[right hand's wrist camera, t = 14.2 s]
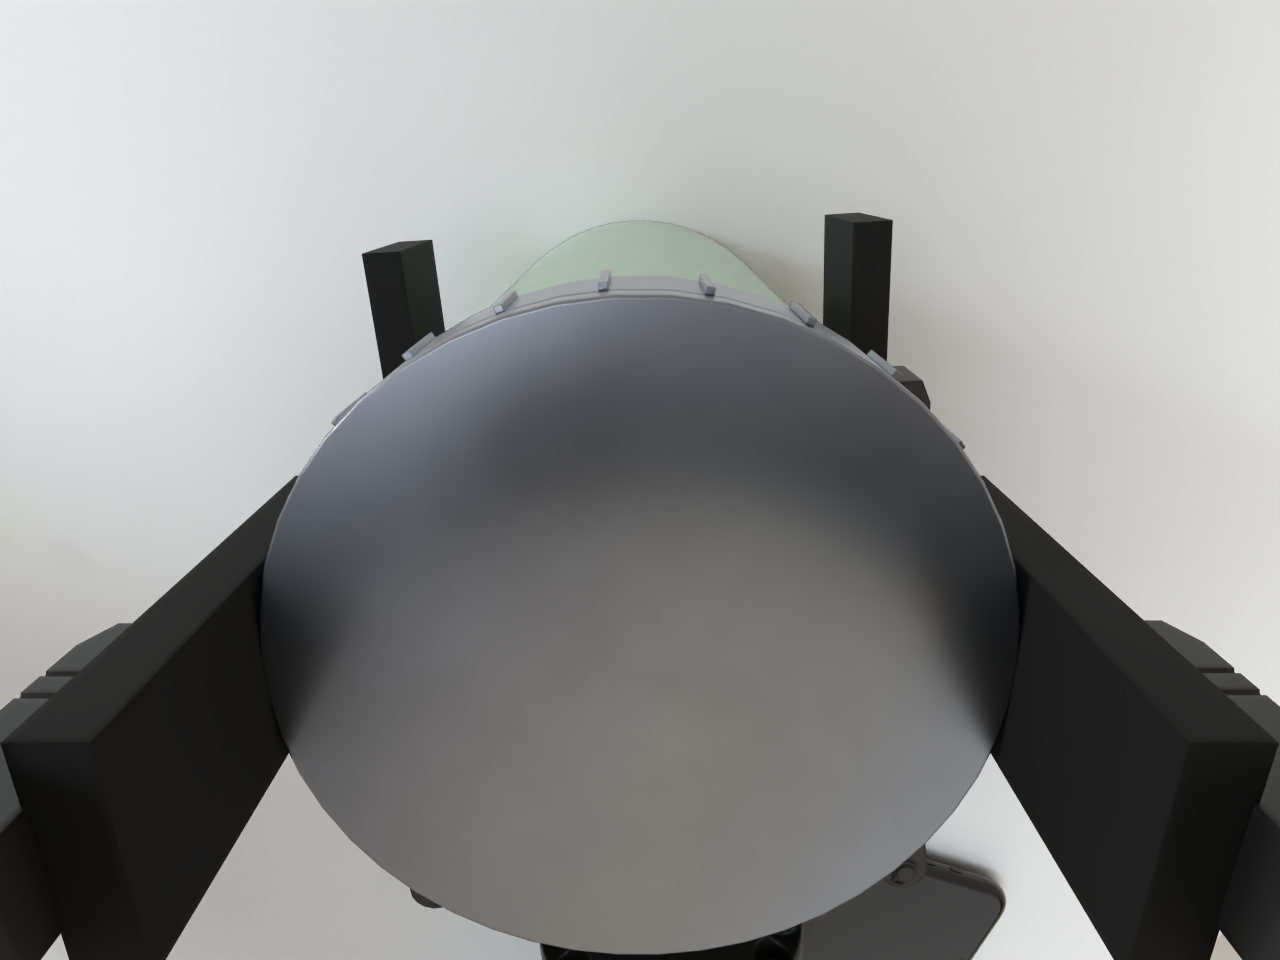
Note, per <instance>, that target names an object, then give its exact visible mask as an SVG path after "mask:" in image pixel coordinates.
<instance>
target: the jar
mask: <svg viewBox="0 0 1280 960" xmlns="http://www.w3.org/2000/svg"><path fill="white" fill-rule="evenodd" d="M603 270H611V277H613V276H669V277H676V278H683V279H690V280H697V281H699V276H700V274H706V275H709V277H710V279H711V280H712V282H713V283H718V284H721V285H725V286H728V287H732V288H735V289H739V290H742V291H746V292H749V293H753V294H757V295H760V296H764V297H766V298H768V299H771V300H773V301H775V302H778V303H780V304H782V305H784V306H787V307H789V306H788V305H787V304H786V303H785V302H784V301H783V300H782V299H781V298H780V297H779V296H778V295H777V294H776V293H775V292H774V291H773V290H772V289H770V288H769V287H768V286H767V285H766V284H765V283H764V282H763V281H762V280H761V279H760V278H759V277H758V276H757V275H756V274H755V273H754V272H753V271H752V270H751V269H749V268H748V267H747V266H746V265H745V264H744V263H743V262H742V261H741V260H740V259H739V258H737V257H736V256H735V255H734V254H733V253H731V252H730V251H729V250H728V249H727V248H725V247H723V246H722V245H720V244H719V243H717V242H715V241H714V240H712V239H710V238H709V237H707V236H704V235H702V234H700V233H697V232H695V231H693V230H691V229H687V228H684V227H680V226H677V225H673V224H669V223H662V222H655V221H626V222H618V223H611V224H607V225H603V226H600V227H596V228H592V229H590V230H587V231H585V232H583V233H580V234H578V235H575V236H573V237H571V238H570V239H568V240H566V241H565V242H563V243H561V244H560V245H558V246H556V247H555V248H554V249H552V250H551V251H550V252H549V253H547V254H546V255H545V256H544V257H542V258H541V259H540V260H539V261H538V262H537V263H536V264H535V265H534V266H533V267H532V268H530V269H529V270H528V271H527V272H526V273H525V274H524V275H523V276H522V277H521V278H520V279H519V280H518V281H517V282H516V283H515V284H514V285H513V286H512V287H510V288H509V289H508V290H507V291H506V292H505V293H504V294H503V295H502V296H501V297H500V298H499V299H498V300H497V301H496V302H495V303H494V304H493V305H491V306H490V307H493V306H494V305H495V304H496V303H497V302H498V301H499V300H501V299H502V298H503V297H504V296H505V295H506V294H507V293H508V292H510V291H513V290H516V292H517V295H518V296H519V295H522V294H526V293H529V292H533V291H537V290H541V289H544V288H548V287H552V286H555V285H559V284H563V283H567V282H574V281H581V280H589V279H597V278H600V275H601V272H602V271H603ZM490 307H489V308H490Z"/></svg>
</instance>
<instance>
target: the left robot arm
mask: <svg viewBox="0 0 1280 960" xmlns="http://www.w3.org/2000/svg"><path fill="white" fill-rule="evenodd" d="M892 223H893V220H889V219H885V218H880V217H876V216H871V215H867V214H862V213H847V214H831V215H825V238H824V302H823V325H824V326H826V327H827V328H829V329H831V330H832V331H834V332H835V333H837V334H839V335H840V336H842V337H844V338H845V339H847V340H848V341H850V342H851V343H852V344H853V345H855V346H856V347H857V348H858V349H860V350H861V351H862V352H863V353H864V354H866V355H867V354H868V353H869V352H870V351H871V350H873V351H874V352H875V353H876V354H877V355H879V356H880V357H881V358H882V359H884V360H885V361H886V362H887V341H888V318H889V294H890V270H891V247H892ZM362 257H363V263H364V269H365V275H366V281H367V287H368V292H369V298H370V304H371V310H372V316H373V322H374V327H375V333H376V339H377V345H378V351H379V357H380V362H381V368H382V374H383V379H385V378H386V377H387V376H388V375H389V374H391V373H392V372H393V371H394V370H395V369H397V368H398V367H399V366H400V365H401V364H403V363H404V362H405V359H404V358H403V357H402V354H404V353H405V352H406V351H407V350H409V349H410V348H411V347H412V346H414V345H415V344H416V343H417V342H419V341H420V340H421V339H422V338H424V337H425V336H426V335H428V334H429V333H431V332H432V333H433V335H434V336H435V337H437V336H439V335H440V334H442V333H444V332H445V328H444V321H443V314H442V307H441V300H440V293H439V286H438V279H437V272H436V265H435V258H434V251H433V243H432V240H422V241H406V242H397V243H394V244H391V245H388V246H385V247H382V248H379V249H375V250H372V251H369V252H366V253H363V254H362ZM893 367H894V368H895V369H896V370H897V371H899V372H900V373H901V374H902V375H903V376H902V377H901V378H900V379H899V380H898V382H899V383H900V384H901V385H903V386H904V387H905V388H906V389H907V390H909V391H910V392H911V393H912V394H913V395H915V396H916V397H917V398H918V399H919V400H920V401H922V402H923V403H924V404H925V406H926V407H927V408H928V409H929V410H930V400H929V397H928V395H927V392H926V389H925V386H924V384H923V381H922V380H921V379H920V378H918V377H917V376H916V375H915V374H913V373H912V372H911V371H909V370H908V369H907V368H905V367H904V366H893ZM926 872H927V859H926V848H925V844H924V845H923V846H922V847H921V848H919V849H918V850H917V851H916V852H915V853H914V854H913V855H911V856H910V857H909V858H908V859H907V860H906V861H905V862H904V863H902V864H901V865H900V866H899V867H898V868H897V869H896V870H894V871H893V872H891V873H890V874H889V875H887V876H886V877H884V878H883V879H884V881H885V882H887V883H888V884H889V885H891V886H894V887H897V888H907V887H910V886H913V885H916V884H917V883H919V882H920V881H921V880H922V879H923V878H924V876H925V875H926ZM410 890H411V894H412V897H413V898H414V899H415V900H416V901H417V903H419V904H421V905H423V906H425V907H429V908H442V906H440V905H438V904H437V903H435V902H433V901H431V900H429V899H428V898H426V897H424V896H422V895H420V894H419V893H417V892H415V891H414V890H412V889H411V888H410ZM540 949H541V956H542V960H803V923H801V924H798V925H796V926H793V927H791V928H789V929H786V930H784V931H780V932H777V933H774V934H770V935H767V936H764V937H760V938H757V939H753V940H750V941H747V942H743V943H738V944H733V945H728V946H723V947H718V948H712V949H707V950H702V951H692V952H681V953H670V954H659V955H653V954H608V953H599V952H589V951H579V950H572V949H567V948H562V947H557V946H552V945H547V944H542V943H540Z"/></svg>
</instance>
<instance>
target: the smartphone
mask: <svg viewBox="0 0 1280 960" xmlns="http://www.w3.org/2000/svg"><path fill="white" fill-rule="evenodd" d="M926 859H927V858H926ZM1005 905H1006V898H1005V894H1004V892H1003V890H1002V888H1001V887H1000V886H999V885H998V884H997V883H996V882H995V881H993V880H991V879H990V878H987V877H985V876H982V875H979V874H976V873H973V872H969V871H966V870H963V869H959V868H956V867H953V866H950V865H946V864H943V863H940V862H937V861H933V860H930V859H927V872H926V875H925V876H924V878H923V879H922V880H921V881H920V882H919V883H917V884H916V885H913V886H910V887H907V888H897V887H894V886H891V885H889V884H888V883H887V882H885V881H884V879H881V880H880V881H878V882H877V883H876V884H874V885H873V886H871V887H870V888H868V889H867V890H865V891H864V892H863V893H861V894H860V895H858V896H856V897H854V898H852V899H850V900H848V901H847V902H845V903H843V904H841V905H839V906H837V907H836V908H834V909H832V910H830V911H828V912H826V913H824V914H823V915H820V916H818V917H815V918H813V919H810V920H808V921H806V922H803V960H972V958H973V957H974V955H975V954H976V952H977V951H978V949H979V948H980V946H981V945H982V944H983V942H984V941H985V939H986V938H987V936H988V935H989V933H990V932H991V930H992V929H993V927H994V926H995V924H996V923H997V922H998V920H999V919H1000V917H1001V915H1002V914H1003V912H1004V909H1005Z"/></svg>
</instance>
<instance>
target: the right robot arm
mask: <svg viewBox="0 0 1280 960" xmlns="http://www.w3.org/2000/svg"><path fill="white" fill-rule="evenodd" d="M980 477H981V478H982V480H983V481H984V483H985V486H986V488H987V490H988V492H989V494H990V497H991V499H992V501H993V503H994V505H995V507H996V510H997V512H998V514H999V516H1000V518H1001V521H1002V523H1003V526H1004V529H1005V533H1006V536H1007V540H1008V544H1009V547H1010V551H1011V554H1012V558H1013V561H1014V565H1015V569H1016V578H1017V586H1018V595H1019V603H1020V612H1021V615H1020V642H1019V654H1018V660H1017V666H1016V671H1015V677H1014V682H1013V688H1012V693H1011V698H1010V703H1009V707H1008V709H1007V712H1006V715H1005V718H1004V721H1003V724H1002V727H1001V730H1000V733H999V735H998V738H997V741H996V743H995V745H994V747H993V748H992V750H991V752H990V753H991V754H992V756H993V758H994V759H995V761H996V763H997V764H998V766H999V768H1000V769H1001V771H1002V773H1003V774H1004V776H1005V778H1006V779H1007V781H1008V783H1009V785H1010V786H1011V788H1012V790H1013V791H1014V793H1015V795H1016V796H1017V798H1018V800H1019V801H1020V803H1021V805H1022V806H1023V808H1024V810H1025V811H1026V813H1027V815H1028V816H1029V818H1030V820H1031V821H1032V823H1033V825H1034V826H1035V828H1036V830H1037V831H1038V833H1039V835H1040V837H1041V838H1042V840H1043V842H1044V843H1045V845H1046V847H1047V848H1048V850H1049V852H1050V853H1051V855H1052V857H1053V858H1054V860H1055V862H1056V863H1057V865H1058V867H1059V868H1060V870H1061V872H1062V873H1063V875H1064V877H1065V878H1066V880H1067V882H1068V883H1069V885H1070V887H1071V889H1072V890H1073V892H1074V894H1075V895H1076V897H1077V899H1078V900H1079V902H1080V904H1081V905H1082V907H1083V909H1084V910H1085V912H1086V914H1087V915H1088V917H1089V919H1090V920H1091V922H1092V924H1093V925H1094V927H1095V929H1096V930H1097V932H1098V934H1099V936H1100V937H1101V939H1102V941H1103V942H1104V944H1105V946H1106V947H1107V949H1108V951H1109V952H1110V954H1111V956H1112V957H1113V959H1114V960H1210V958H1211V955H1212V952H1213V949H1214V945H1215V942H1216V939H1217V936H1218V933H1219V930H1220V931H1221V932H1222V933H1223V935H1224V936H1225V937H1226V939H1227V940H1228V941H1229V943H1230V944H1231V945H1232V947H1233V948H1234V949H1235V951H1236V952H1237V953H1238V955H1239V956H1240V957H1241V958H1242V960H1280V707H1279V706H1278V705H1277V704H1276V703H1275V702H1273V701H1272V700H1271V699H1270V698H1269V697H1268V696H1266V695H1260V692H1259V691H1260V690H1259V689H1258V688H1257V687H1256V686H1255V685H1253V684H1252V683H1251V682H1250V681H1249V680H1248V679H1246V678H1245V677H1244V676H1243V675H1242V674H1240V673H1235V672H1234V668H1233V667H1232V666H1231V665H1230V664H1229V663H1227V662H1226V661H1225V660H1224V659H1223V658H1222V657H1220V656H1219V655H1218V654H1217V653H1216V652H1214V651H1213V650H1212V649H1211V648H1210V647H1209V646H1207V645H1206V644H1205V643H1204V642H1202V641H1200V640H1198V639H1196V638H1194V637H1192V636H1190V635H1188V634H1186V633H1185V632H1183V631H1181V630H1179V629H1177V628H1175V627H1173V626H1171V625H1169V624H1167V623H1165V622H1163V621H1144V620H1143V619H1142V618H1140V617H1139V616H1138V615H1137V614H1136V613H1135V612H1134V611H1133V610H1132V609H1130V608H1129V607H1128V606H1127V605H1126V604H1125V603H1124V602H1123V601H1122V600H1121V599H1119V598H1118V597H1117V596H1116V595H1115V594H1114V593H1113V592H1112V591H1111V590H1109V589H1108V588H1107V587H1106V586H1105V585H1104V584H1103V583H1102V582H1101V581H1100V580H1098V579H1097V578H1096V577H1095V576H1094V575H1093V574H1092V573H1091V572H1090V571H1088V570H1087V569H1086V568H1085V567H1084V566H1083V565H1082V564H1081V563H1080V562H1079V561H1077V560H1076V559H1075V558H1074V557H1073V556H1072V555H1071V554H1070V553H1069V552H1067V551H1066V550H1065V549H1064V548H1063V547H1062V546H1061V545H1060V544H1059V543H1058V542H1056V541H1055V540H1054V539H1053V538H1052V537H1051V536H1050V535H1049V534H1048V533H1046V532H1045V531H1044V530H1043V529H1042V528H1041V527H1040V526H1039V525H1038V524H1037V523H1035V522H1034V521H1033V520H1032V519H1031V518H1030V517H1029V516H1028V515H1027V514H1025V513H1024V512H1023V511H1022V510H1021V509H1020V508H1019V507H1018V506H1017V505H1016V504H1014V503H1013V502H1012V501H1011V500H1010V499H1009V498H1008V497H1007V496H1006V495H1004V494H1003V493H1002V492H1001V491H1000V490H999V489H998V488H997V487H996V486H995V485H993V484H992V483H991V482H990V481H989V480H988V479H987V478H986V477H985V476H980ZM297 478H298V476H295V477H294V478H293V479H292V480H290V481H289V482H288V483H287V484H286V485H285V486H284V487H283V488H282V489H281V490H279V491H278V492H277V493H276V494H275V495H274V496H273V497H272V498H271V499H269V500H268V501H267V502H266V503H265V504H264V505H263V506H262V507H261V508H260V509H258V510H257V511H256V512H255V513H254V514H253V515H252V516H251V517H250V518H248V519H247V520H246V521H245V522H244V523H243V524H242V525H241V526H240V527H239V528H237V529H236V530H235V531H234V532H233V533H232V534H231V535H230V536H229V537H227V538H226V539H225V540H224V541H223V542H222V543H221V544H220V545H219V546H218V547H216V548H215V549H214V550H213V551H212V552H211V553H210V554H209V555H208V556H206V557H205V558H204V559H203V560H202V561H201V562H200V563H199V564H198V565H196V566H195V567H194V568H193V569H192V570H191V571H190V572H189V573H188V574H187V575H185V576H184V577H183V578H182V579H181V580H180V581H179V582H178V583H177V584H175V585H174V586H173V587H172V588H171V589H170V590H169V591H168V592H167V593H166V594H164V595H163V596H162V597H161V598H160V599H159V600H158V601H157V602H156V603H154V604H153V605H152V606H151V607H150V608H149V609H148V610H147V611H146V612H145V613H143V614H142V615H141V616H140V617H139V618H138V619H137V620H136V621H135V622H133V623H132V624H117V625H115V626H113V627H111V628H109V629H107V630H105V631H103V632H101V633H99V634H98V635H96V636H94V637H92V638H90V639H88V640H86V641H84V642H82V643H80V644H78V645H76V646H75V647H74V648H73V649H72V650H71V651H69V652H68V653H67V654H66V655H65V656H64V657H62V658H61V659H60V660H59V661H58V662H56V663H55V664H54V665H53V666H52V667H51V668H49V669H48V670H47V671H46V676H45V677H39V678H38V679H37V680H35V681H34V682H33V683H32V684H31V685H30V686H28V687H27V688H26V689H25V690H24V691H23V692H21V697H20V699H13V700H12V701H11V702H10V703H8V704H7V705H6V706H5V707H4V708H3V709H1V710H0V960H41V959H42V957H43V956H44V955H45V953H46V952H47V951H48V949H49V948H50V947H51V945H52V944H53V943H54V941H55V940H56V939H57V937H58V936H59V935H60V933H61V935H62V938H63V941H64V944H65V948H66V951H67V954H68V957H69V960H166V958H167V956H168V955H169V953H170V951H171V950H172V948H173V946H174V945H175V943H176V941H177V940H178V938H179V936H180V935H181V933H182V931H183V930H184V928H185V926H186V925H187V923H188V921H189V920H190V918H191V916H192V914H193V913H194V911H195V909H196V908H197V906H198V904H199V903H200V901H201V899H202V898H203V896H204V894H205V893H206V891H207V889H208V888H209V886H210V884H211V883H212V881H213V879H214V878H215V876H216V874H217V873H218V871H219V869H220V868H221V866H222V864H223V862H224V861H225V859H226V857H227V856H228V854H229V852H230V851H231V849H232V847H233V846H234V844H235V842H236V841H237V839H238V837H239V836H240V834H241V832H242V831H243V829H244V827H245V826H246V824H247V822H248V821H249V819H250V817H251V816H252V814H253V812H254V810H255V809H256V807H257V805H258V804H259V802H260V800H261V799H262V797H263V795H264V794H265V792H266V790H267V789H268V787H269V785H270V784H271V782H272V780H273V779H274V777H275V775H276V774H277V772H278V770H279V769H280V767H281V765H282V764H283V762H284V760H285V758H286V757H287V755H288V753H289V751H288V749H287V747H286V745H285V743H284V741H283V739H282V737H281V735H280V732H279V729H278V726H277V723H276V720H275V717H274V714H273V711H272V708H271V705H270V701H269V696H268V690H267V685H266V679H265V674H264V668H263V663H262V657H261V651H260V632H259V604H260V597H261V589H262V582H263V574H264V566H265V562H266V558H267V555H268V551H269V548H270V545H271V541H272V538H273V534H274V531H275V528H276V524H277V521H278V518H279V516H280V514H281V512H282V510H283V508H284V506H285V504H286V500H287V498H288V495H289V494H290V493H291V491H292V489H293V487H294V485H295V482H296V480H297Z"/></svg>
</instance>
